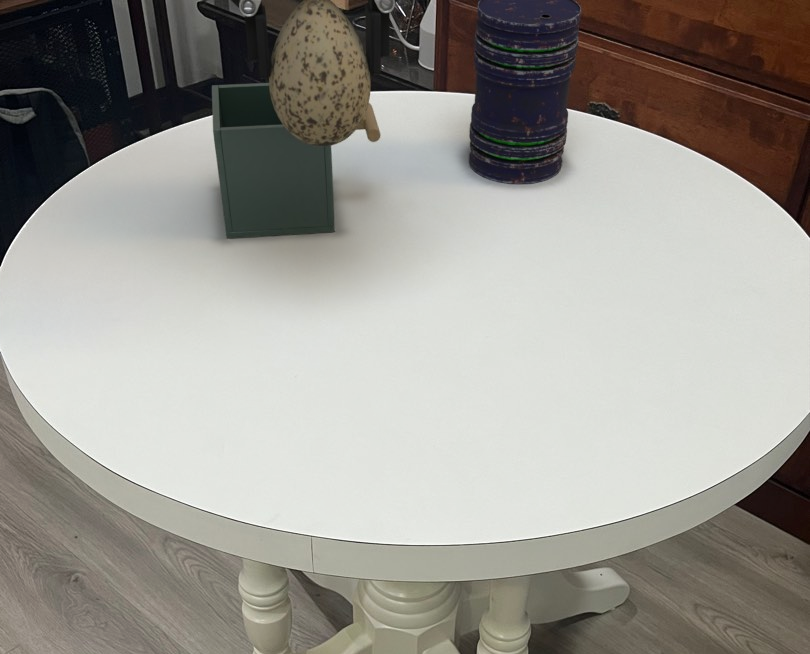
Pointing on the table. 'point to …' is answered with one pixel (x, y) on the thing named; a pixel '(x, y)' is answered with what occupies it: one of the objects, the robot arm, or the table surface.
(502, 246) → the table surface
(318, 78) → the decorative egg
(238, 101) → the green box with handle
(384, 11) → the robot arm
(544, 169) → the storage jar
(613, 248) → the table surface
